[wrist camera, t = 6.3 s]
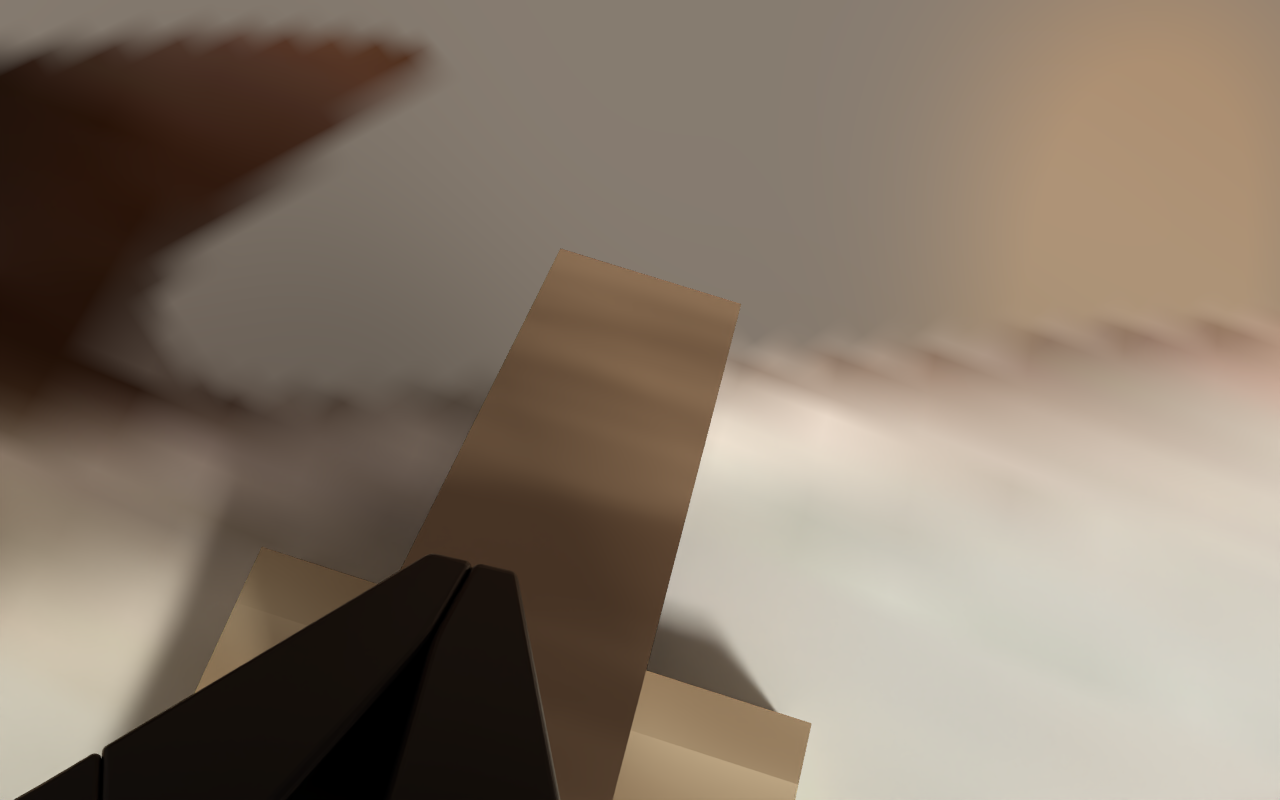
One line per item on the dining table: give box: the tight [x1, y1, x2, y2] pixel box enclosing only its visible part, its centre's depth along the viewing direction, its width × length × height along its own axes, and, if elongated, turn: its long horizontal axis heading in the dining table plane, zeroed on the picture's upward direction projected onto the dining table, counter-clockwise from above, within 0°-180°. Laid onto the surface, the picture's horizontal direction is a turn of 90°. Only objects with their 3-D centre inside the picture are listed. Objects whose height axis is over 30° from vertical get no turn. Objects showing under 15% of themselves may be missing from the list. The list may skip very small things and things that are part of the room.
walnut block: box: [401, 249, 741, 800], centre depth 14 cm, size 4×4×10 cm
